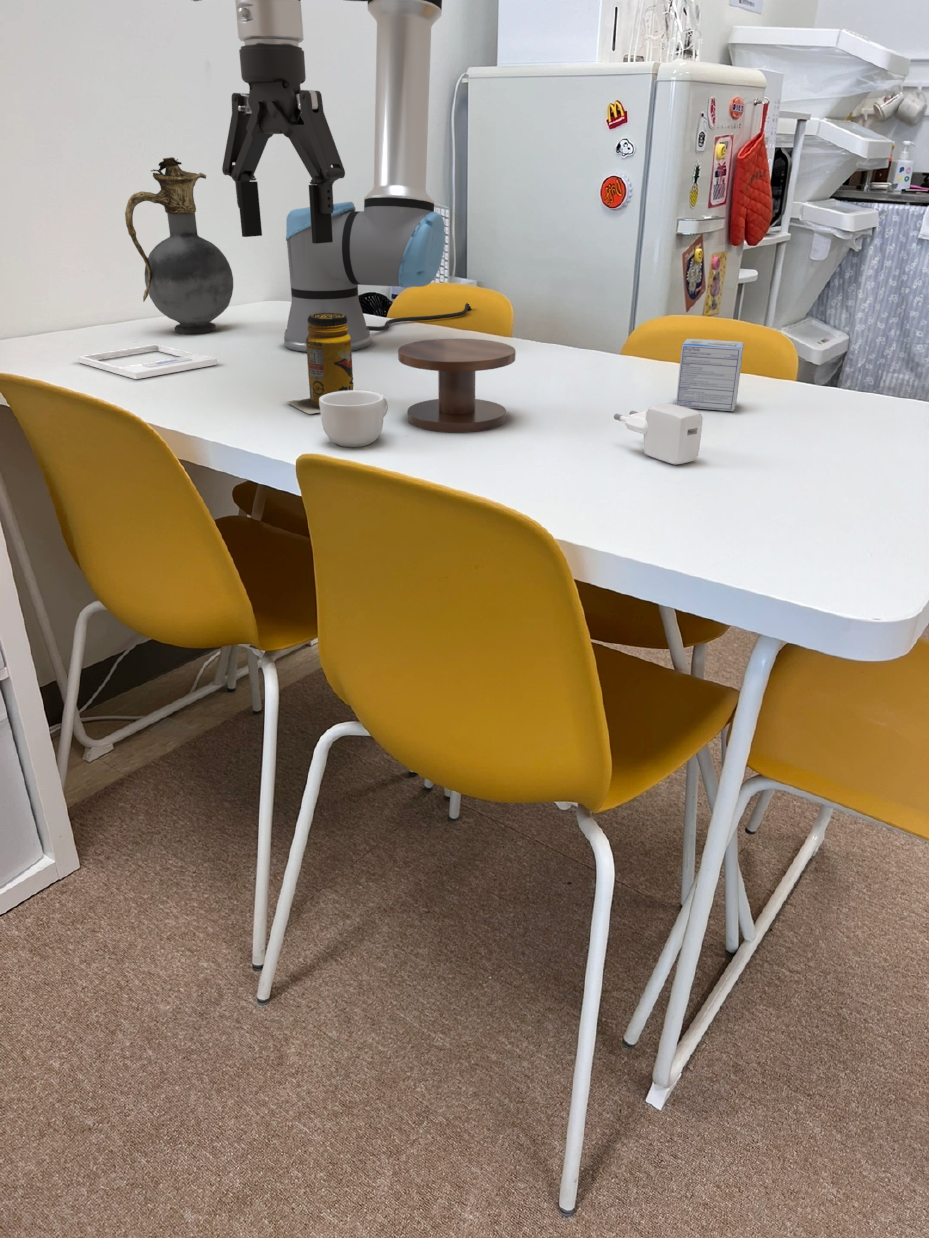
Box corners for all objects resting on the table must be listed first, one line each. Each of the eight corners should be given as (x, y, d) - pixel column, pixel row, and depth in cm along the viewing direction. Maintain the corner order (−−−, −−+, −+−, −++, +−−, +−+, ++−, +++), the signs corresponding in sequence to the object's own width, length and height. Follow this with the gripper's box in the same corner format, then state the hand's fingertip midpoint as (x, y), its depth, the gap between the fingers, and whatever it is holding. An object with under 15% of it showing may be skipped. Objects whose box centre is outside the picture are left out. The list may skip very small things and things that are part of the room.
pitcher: (246, 328, 182) (229, 157, 169) (160, 342, 169) (134, 158, 156) (213, 322, 189) (194, 156, 175) (128, 335, 176) (99, 157, 162)
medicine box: (736, 405, 130) (745, 341, 127) (733, 413, 127) (742, 347, 123) (679, 400, 133) (685, 337, 129) (674, 408, 129) (681, 343, 125)
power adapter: (605, 445, 113) (609, 396, 110) (634, 438, 116) (638, 391, 113) (673, 468, 105) (679, 417, 102) (703, 461, 107) (709, 410, 105)
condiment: (365, 407, 129) (361, 316, 124) (309, 415, 125) (302, 322, 119) (341, 396, 135) (336, 309, 129) (287, 404, 130) (279, 314, 125)
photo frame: (134, 372, 142) (77, 355, 153) (136, 379, 143) (78, 362, 154) (216, 357, 152) (156, 343, 163) (217, 364, 152) (157, 349, 163)
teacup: (354, 455, 109) (351, 409, 107) (308, 443, 113) (305, 399, 111) (410, 436, 116) (409, 393, 114) (365, 426, 120) (363, 384, 118)
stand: (449, 399, 133) (449, 334, 129) (536, 417, 125) (538, 348, 120) (376, 421, 123) (373, 350, 118) (465, 441, 114) (465, 367, 110)
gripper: (180, 48, 114) (202, 235, 124) (319, 35, 100) (331, 248, 110) (230, 52, 119) (247, 232, 129) (369, 41, 105) (376, 243, 115)
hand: (286, 239), depth 119 cm, fingers open, 13 cm apart
